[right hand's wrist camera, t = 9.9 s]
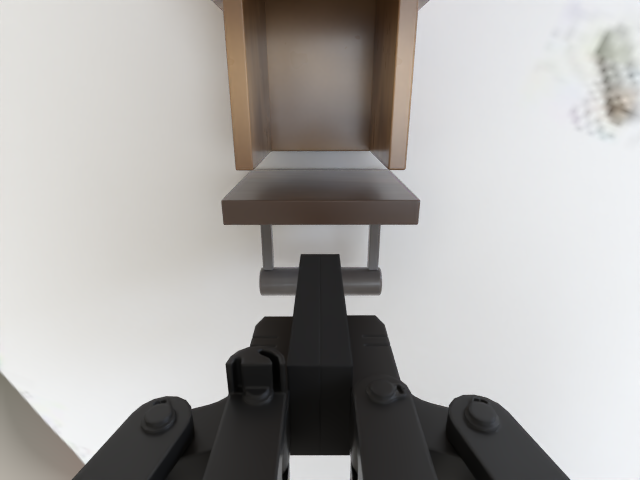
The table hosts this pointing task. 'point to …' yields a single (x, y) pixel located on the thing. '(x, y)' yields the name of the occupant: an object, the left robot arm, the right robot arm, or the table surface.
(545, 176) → the table surface
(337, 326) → the right robot arm
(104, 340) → the table surface
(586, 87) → the table surface
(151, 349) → the table surface
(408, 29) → the drawer
